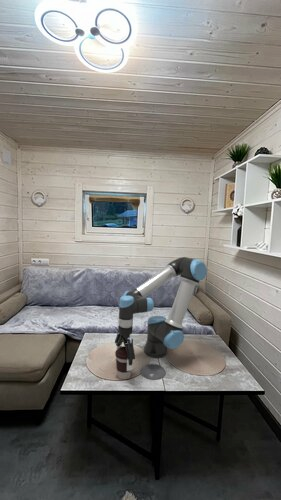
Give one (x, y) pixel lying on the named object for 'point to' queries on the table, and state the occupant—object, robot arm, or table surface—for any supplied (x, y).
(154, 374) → the coaster
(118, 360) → the coffee cup
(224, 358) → the table surface
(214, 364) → the table surface
